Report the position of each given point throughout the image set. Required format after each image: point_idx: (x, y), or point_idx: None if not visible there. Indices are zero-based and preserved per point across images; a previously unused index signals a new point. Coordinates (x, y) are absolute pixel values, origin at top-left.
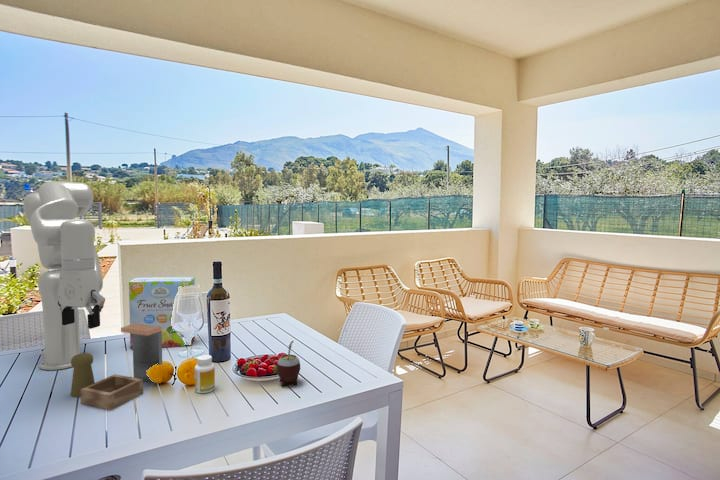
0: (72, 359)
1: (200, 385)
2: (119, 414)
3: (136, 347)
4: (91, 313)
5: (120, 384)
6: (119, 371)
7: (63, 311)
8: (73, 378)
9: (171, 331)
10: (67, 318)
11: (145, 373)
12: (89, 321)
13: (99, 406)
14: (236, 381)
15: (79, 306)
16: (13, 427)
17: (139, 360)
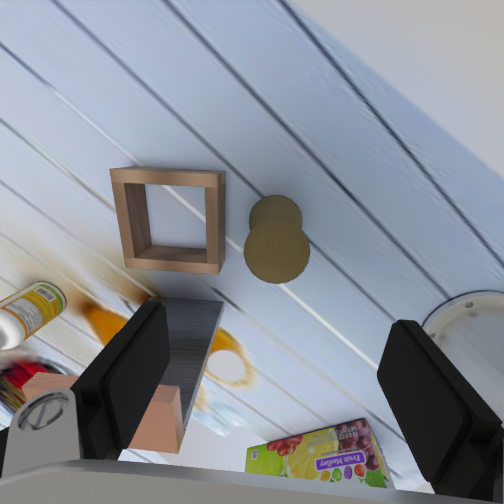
0: (288, 228)
1: (22, 290)
2: (96, 158)
3: (188, 360)
4: (57, 402)
5: (192, 254)
6: (289, 325)
7: (476, 424)
8: (283, 211)
9: None
10: (410, 374)
11: (183, 310)
12: (121, 334)
13: (162, 168)
14: (30, 338)
15: (57, 479)
16: (269, 7)
17: (190, 331)
